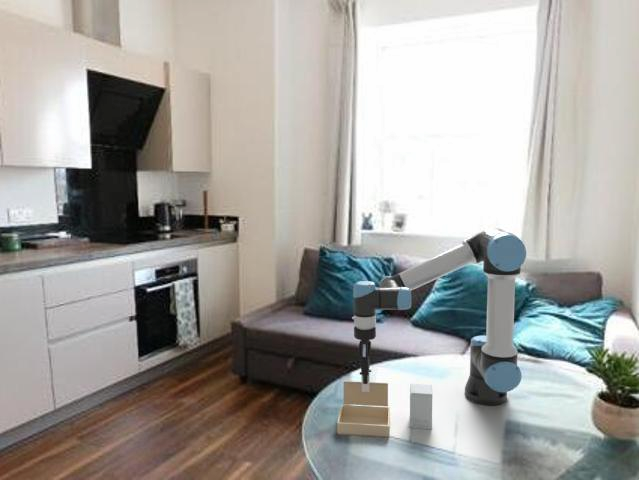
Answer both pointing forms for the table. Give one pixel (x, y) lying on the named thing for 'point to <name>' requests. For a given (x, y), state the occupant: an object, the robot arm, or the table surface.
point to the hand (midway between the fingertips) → (365, 390)
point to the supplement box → (421, 406)
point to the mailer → (364, 421)
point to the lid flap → (365, 394)
